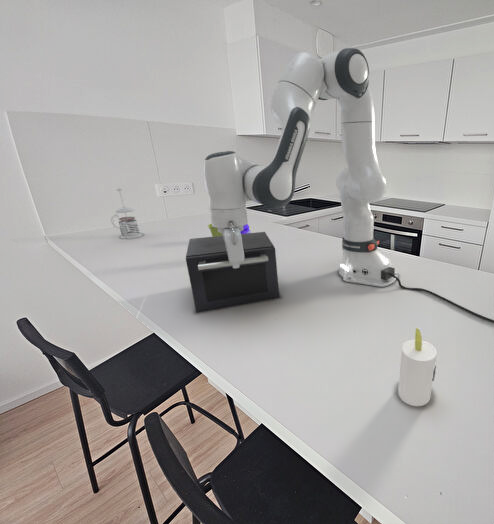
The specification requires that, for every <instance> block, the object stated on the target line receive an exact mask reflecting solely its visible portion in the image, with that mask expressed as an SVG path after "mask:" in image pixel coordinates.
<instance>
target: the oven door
mask: <svg viewBox="0 0 494 524" xmlns="http://www.w3.org/2000/svg"><path fill="white" fill-rule="evenodd" d="M185 262H186V268H187V272H188V277H189V282H190V288H191V293H192V297H193V303H194V306H195V307H194V308H195V313H201V312H202V313H203V312H208V311H212V310H218V309H223V308H231V307H234V306H241V305H247V304H253V303H256V302H263V301H268V300H273V299H278V298H280V290H279V289H280V288H279V277H278V265H277V254H276V247H275V246H274V247H267V248H258V249H250V250H244V261H243V262H239V266H240V267H239V268H235V269H234V268H233V267H232V263H230V262H229V259H228V255H227V252H223V253H215V254H206V255H197V256H188V257H186V256H185Z"/></svg>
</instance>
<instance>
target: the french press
mask: <svg viewBox="0 0 494 524" xmlns="http://www.w3.org/2000/svg"><path fill="white" fill-rule="evenodd" d="M116 191H117V192H119V195H120V199H121V202H122V206H123V207H120V208H117V209H116V210H115V211H114V212H115V214H113V215H112V217H111V218H110V219H111V220H110V222H111V224H112V226H113V227H114V228H117V229H119V231H120V234H121V236H120V238H121V239H124V240H125V239H128V240H129V239H135V238H140V237H142V236H143V234H142V233H141V232H140V228H139V225H138V221H137V219H136V217H135V216H127V213H133V212H134V211H135V209H134V208H131V207H126V206H124V201H123V198H122V194H121V191H122V188H119V187H118V188H116ZM117 213H118V214H122V213H123V214H125V216H123V217H120V216H119V215H118V214H117ZM115 217H117V218H118V220H119V221H118V225H119V227H118V226H116V224H115V221H114V220H115Z"/></svg>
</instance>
